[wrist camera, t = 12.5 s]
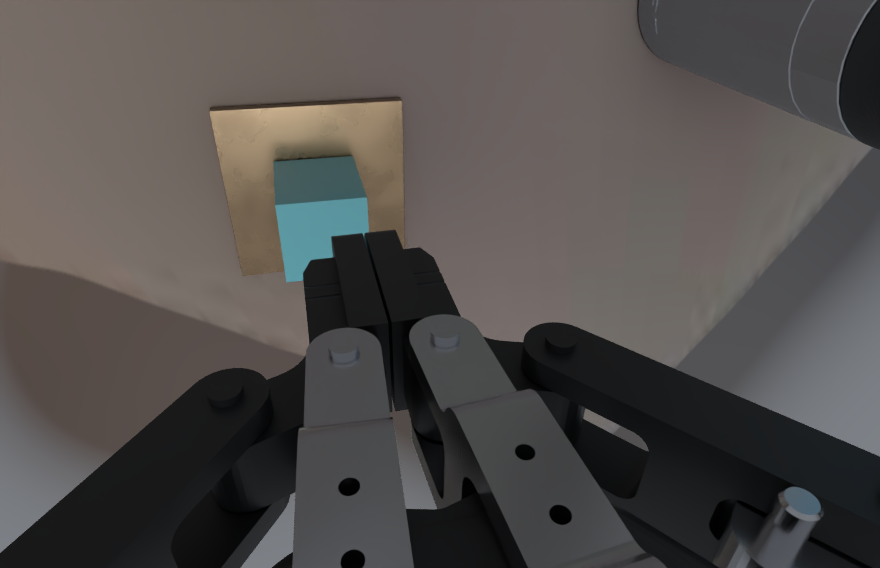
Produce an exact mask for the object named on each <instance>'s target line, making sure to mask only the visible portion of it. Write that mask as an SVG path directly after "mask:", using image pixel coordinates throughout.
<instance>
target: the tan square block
mask: <svg viewBox="0 0 880 568" xmlns="http://www.w3.org/2000/svg"><path fill="white" fill-rule="evenodd" d="M209 112H210V117H211V122H212V127H213V131H214V136H215V141H216V146H217V151H218V156H219V161H220V166H221V171H222V176H223V181H224V186H225V191H226V196H227V201H228V206H229V210H230V215H231V220H232V225H233V230H234V235H235V240H236V245H237V250H238V255H239V260H240V265H241V270H242V275H243V276H246V275H255V274H263V273H272V272H281V271H285V269H284V262H283V255H282V248H281V242H280V235H279V228H278V221H277V215H276V208H275V191H274V167H273V162H274V161H289V160H303V159H317V158H332V157H346V156H353V158H354V161H355V164H356V167H357V170H358V172H359V175H360V178H361V181H362V184H363V187H364V190H365V193H366V196H367V206H368V225H369V232H376V231H386V230H396V232H397V234H398V237H399V239H400V242H401V244H402V247H403V249H405V241H404V182H403V124H402V100H401V98H400V97H398V98H379V99H360V100H341V101H323V102H304V103H285V104H266V105H247V106H229V107H210V111H209Z"/></svg>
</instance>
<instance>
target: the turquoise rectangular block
mask: <svg viewBox="0 0 880 568" xmlns="http://www.w3.org/2000/svg"><path fill="white" fill-rule="evenodd" d="M273 167H274V191H275V208H276V215H277V221H278V228H279V235H280V242H281V248H282V255H283V262H284V269H285V275H286V282H293V281H301V280H303V272H304V270H305V269H306V267H307V265H308V264H309V262H310V261H311V260H314V259H323V258H332V257H333V253H332V243H331V236H339V235H349V234H358V233H362V234H363V236H364V233H367V232H369V225H368V206H367V196H366V193H365V190H364V187H363V184H362V181H361V178H360V175H359V172H358V170H357V167H356V164H355V161H354V158H353V156H346V157H332V158H317V159H303V160H289V161H274V162H273Z"/></svg>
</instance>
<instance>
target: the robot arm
mask: <svg viewBox="0 0 880 568" xmlns="http://www.w3.org/2000/svg"><path fill="white" fill-rule="evenodd" d="M638 14H639V25H640V29H641V32H642V36H643V38H644V40H645V42H646V44H647V45H648V47H649V49H650V50H651V51H652V52H653V53H654V54H655V55H656V56H658V57H660V58H661V59H663V60H665V61H667V62H669V63H672V64H674V65H677V66H679V67H681V68H684V69H686V70H689V71H691V72H693V73H695V74H698V75H700V76H702V77H705V78H707V79H710V80H712V81H714V82H717V83H719V84H722V85H724V86H726V87H729V88H731V89H734V90H736V91H739V92H741V93H743V94H746V95H748V96H751V97H753V98H755V99H758V100H760V101H763V102H765V103H768V104H770V105H772V106H775V107H777V108H780V109H782V110H784V111H787V112H789V113H792V114H794V115H797V116H799V117H801V118H804V119H806V120H809V121H811V122H814V123H817V124H819V125H821V126H824V127H826V128H829V129H831V130H833V131H836V132H838V133H841V134H843V135H846V136H848V137H850V138H853V139H855V140H858V141H860V142H862V143H864V144H867V145H869V146H871V147H874V148H877V149H879V150H880V0H639V8H638ZM331 243H332V253H333V257H332V258H323V259H314V260H311V261H310V262H309V264H308V265H307V267H306V269H305V270H304V272H303V281H304V291H305V301H306V311H307V322H308V332H309V346H308V348H307V351H306V356H305V357H304V359H303V360H302V361H301V362H300V363H299V364H298V365H296V366H295V367H294V368H292V369H291V370H289V371H287V372H285V373H283V374H281V375H278V376H276V377H273V378H271V379H268V380H266V379H265V378H264V376H262V375H261V374H260V373H258V372H256V371H254V370H249V369H244V368H232V369H226V370H220V371H218V372H215V373H212V374H210V375H208V376H206V377H204V378H202V379H201V380H199V381H198V382H197V383H195V384H194V385H193V386H192V387H191V388H190V389H188V390H187V391H186V392H185V393H184V394H183V395H182V396H180V397H179V398H178V399H177V400H176V401H175V402H173V403H172V405H170V406H169V407H168V408H167V409H165V410H164V411H163V412H162V413H161V414H160V415H159V416H157V417H156V418H155V419H154V420H153V421H152V422H150V423H149V424H148V425H147V426H146V427H145V428H144V429H142V430H141V431H140V432H139V433H138V434H137V435H136V436H134V437H133V438H132V439H131V440H130V441H129V442H127V443H126V444H125V445H124V446H123V447H122V448H121V449H119V450H118V451H117V452H116V453H115V454H114V455H113V456H112V457H110V458H109V459H108V460H107V461H106V462H105V463H103V464H102V465H101V466H100V467H99V468H98V469H97V470H95V471H94V472H93V473H92V474H91V475H90V476H88V477H87V478H86V479H85V480H84V481H83V482H82V483H80V484H79V485H78V486H77V487H76V488H75V489H73V490H72V491H71V492H70V493H69V494H68V495H67V496H65V497H64V498H63V499H62V500H61V501H60V502H59V503H57V504H56V505H55V506H54V507H53V508H52V509H51V510H49V511H48V512H47V513H46V514H45V515H44V516H42V517H41V518H40V519H39V520H38V521H37V522H35V523H34V524H33V525H32V526H31V527H30V528H29V529H27V530H26V531H25V532H24V533H23V534H22V535H21V536H19V537H18V538H17V539H16V540H15V541H14V542H12V544H10V545H9V546H8V547H7V548H6V549H4V550H3V551H2V552H1V553H0V568H240V567H241V566H242V565H243V563H244V562H245V561H246V560H247V558H248V557H249V555H250V554H251V553H252V552H253V550H254V549H255V548H256V546H257V545H258V544H259V542H260V541H261V540H262V539H263V537H264V536H265V535H266V533H267V532H268V531H269V529H270V528H271V527H272V525H273V524H274V523H275V522H276V520H277V519H278V518H279V516H280V515H281V514H282V512H283V511H284V509H285V508H286V506H287V504H288V502H289V498H290V494H292V493H294V492H295V517H294V540H293V552H292V553H291V554H289V555H287V556H286V557H285V558H284V559H282V560H281V561H280V562H278V563H277V564H276V565H275V566H273V567H272V568H880V457H879V456H877V455H875V454H872V453H870V452H867V451H865V450H863V449H860V448H858V447H856V446H854V445H851V444H849V443H847V442H844V441H841V440H839V439H837V438H835V437H833V436H830V435H828V434H826V433H823V432H821V431H819V430H816V429H814V428H811V427H809V426H807V425H805V424H802V423H800V422H797V421H795V420H792V419H790V418H788V417H786V416H783V415H781V414H779V413H776V412H774V411H772V410H769V409H767V408H765V407H762V406H760V405H758V404H755V403H753V402H751V401H748V400H746V399H744V398H741V397H739V396H737V395H734V394H732V393H730V392H727V391H725V390H723V389H720V388H718V387H716V386H713V385H711V384H709V383H706V382H704V381H702V380H699V379H697V378H695V377H692V376H690V375H688V374H685V373H683V372H681V371H678V370H676V369H674V368H671V367H669V366H667V365H664V364H662V363H660V362H657V361H655V360H652V359H650V358H648V357H645V356H643V355H641V354H638V353H636V352H634V351H631V350H629V349H627V348H624V347H622V346H620V345H617V344H615V343H613V342H610V341H608V340H606V339H603V338H601V337H599V336H596V335H594V334H592V333H589V332H587V331H585V330H582V329H580V328H578V327H575V326H572V325H569V324H565V323H554V322H552V323H544V324H540V325H537V326H535V327H533V328H531V329H530V330H529V331H528V332H527V333H526V335H525V337H524V342H510V341H499V340H493V339H489V338H486V337H483V336H482V334H481V333H480V331H479V329H478V328H477V327H476V326H475V325H474V324H473V323H472V322H470V321H469V320H467V319H465V318H462V317H461V316H460V314H459V312H458V309H457V307H456V305H455V303H454V301H453V299H452V296H451V294H450V292H449V290H448V288H447V286H446V283H444V279H443V277H442V275H441V273H440V272H439V268H438V266H437V264H436V262H435V260H434V258H433V257H432V256H431V255H429V254H428V253H427V252H425V251H424V250H423V249H421V248H411V249H403V247H402V244H401V242H400V239H399V237H398V234H397V232H396V230H386V231H376V232H367V233H364V236H363V234H362V233H358V234H349V235H339V236H331ZM392 400H393V403H394V408H395V411H400V410H406V409H408V411H409V415H410V418H411V439H412V442H413V445H414V448H415V451H416V453H417V456H418V459H419V461H420V464H421V467H422V469H423V472H424V475H425V477H426V480H427V482H428V486H429V488H430V491H431V493H432V496H433V499H434V501H435V504H436V507H437V509H436V510H428V509H406V507H405V500H404V493H403V485H402V479H401V471H400V464H399V457H398V450H397V443H396V435H395V428H394V422H393V418H392V417H391V416H390V412H392ZM585 408H586V409H588V410H590V411H592V412H594V413H596V414H598V415H600V416H602V417H604V418H606V419H608V420H610V421H612V422H614V423H616V424H618V425H620V426H622V427H624V428H627V429H628V430H630V431H633V432H634V433H636V434H637V435H639V436H640V437H641V438H642V439H643V440H644V441H645V443H646V445H647V447H648V449H649V452H648V451H645V450H643V449H641V448H639V447H637V446H635V445H633V444H631V443H629V442H627V441H625V440H623V439H621V438H619V437H617V436H615V435H613V434H611V433H609V432H607V431H606V430H604V429H602V428H600V427H598V426H596V425H594V424H592V423H590V422H588V421H586V420H584V419H583V416H584V412H585Z"/></svg>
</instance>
